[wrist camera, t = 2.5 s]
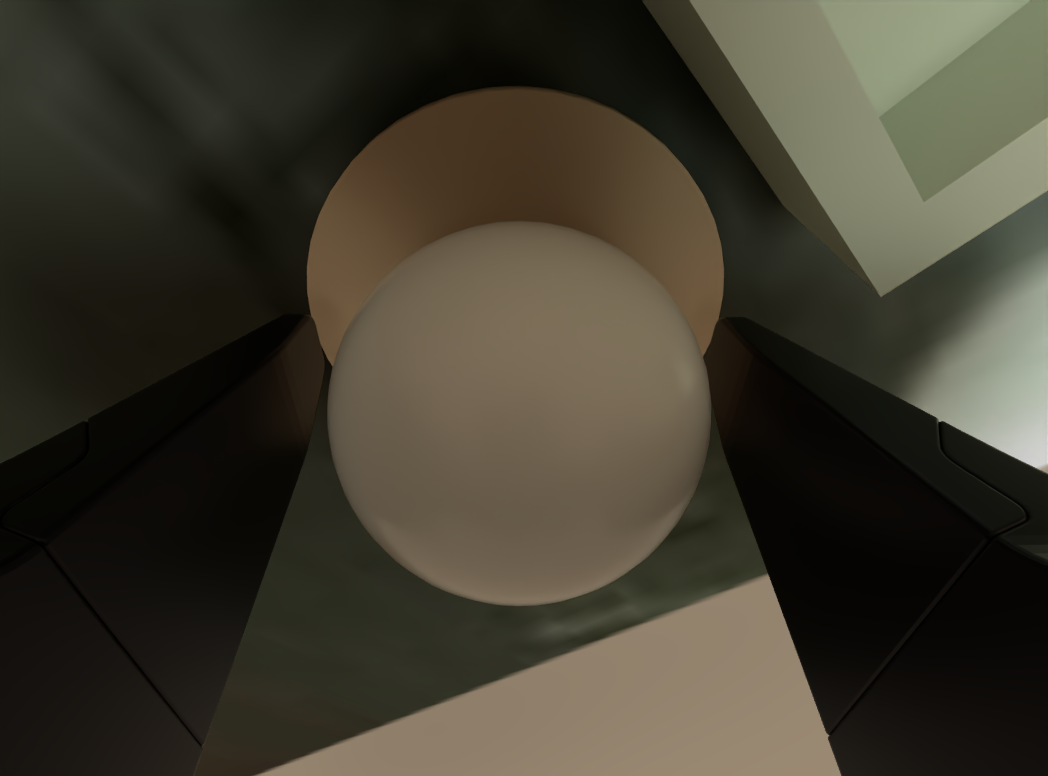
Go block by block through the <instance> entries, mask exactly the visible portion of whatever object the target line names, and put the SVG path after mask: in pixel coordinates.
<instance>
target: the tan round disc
mask: <svg viewBox="0 0 1048 776" xmlns="http://www.w3.org/2000/svg"><path fill="white" fill-rule="evenodd" d="M508 221H531V222H544V223H550V224H555V225H559V226H564V227H569V228H572V229H575V230H578V231H580V232H583V233H586V234H589V235H592V236H595V237H597V238H599V239H601V240H603V241H605V242H607V243H609V244H611V245H613V246H615V247H617V248H619V249H620V250H622V251H623V252H625V253H626V254H627V255H629V256H630V257H632V258H633V259H635V260H636V261H637V262H639V263H640V264H641V265H642V266H643V267H644V268H645V269H646V270H647V271H649V272H650V273H651V274H652V275H653V276H654V277H655V278H656V279H657V280H658V281H659V282H660V283H661V284H662V285H663V286H664V287H665V288H666V290H667V291H668V292H669V294H670V295H671V296H672V297H673V299H674V300H675V301H676V303H677V304H678V306H679V307H680V309H681V310H682V312H683V313H684V315H685V317H686V319H687V321H688V322H689V324H690V326H691V328H692V330H693V332H694V334H695V336H696V339H697V342H698V345H699V348H700V351H701V354H702V357H703V356H704V354H705V352H706V350H707V348H708V346H709V344H710V342H711V339H712V335H713V331H714V327H715V324H716V323H717V321H718V319H719V314H720V309H721V304H722V298H723V286H724V264H723V255H722V246H721V242H720V238H719V235H718V231H717V227H716V223H715V220H714V218H713V215H712V213H711V211H710V209H709V206H708V204H707V202H706V200H705V197H704V195H703V194H702V192H701V191H700V189H699V188H698V186H697V185H696V183H695V181H694V180H693V178H692V177H691V175H690V174H689V172H688V171H687V170H686V168H685V167H684V166H683V165H682V163H681V162H680V161H679V160H678V159H677V158H676V157H675V156H674V155H673V153H672V152H671V151H670V150H669V149H668V148H667V147H666V146H665V145H664V143H663V142H662V141H660V140H659V139H658V138H657V137H655V136H654V135H653V134H652V133H651V132H649V131H648V130H647V129H646V128H644V127H643V126H642V125H641V124H640V123H638V122H636V121H634V120H633V119H631V118H629V117H628V116H626V115H624V114H623V113H621V112H619V111H618V110H616V109H614V108H612V107H610V106H607V105H605V104H602V103H600V102H597V101H595V100H592V99H590V98H588V97H585V96H582V95H578V94H574V93H569V92H565V91H561V90H557V89H553V88H543V87H532V86H521V85H519V86H501V87H486V88H481V89H476V90H471V91H467V92H462V93H457V94H453V95H451V96H448V97H445V98H442V99H440V100H437V101H434V102H431V103H429V104H426V105H424V106H422V107H420V108H418V109H417V110H415V111H413V112H411V113H409V114H407V115H405V116H404V117H402V118H400V119H398V120H397V121H395V122H394V123H393V124H391V125H390V126H389V127H387V128H386V129H385V130H384V131H382V132H381V133H380V134H378V135H377V136H376V137H374V138H373V139H372V140H371V141H370V142H369V143H368V144H367V145H366V146H365V147H364V148H363V150H362V151H361V152H360V153H359V154H358V155H357V156H356V157H355V158H354V159H353V160H352V162H351V163H350V164H349V166H348V167H347V168H346V170H345V171H344V173H343V174H342V176H341V177H340V178H339V180H338V181H337V183H336V184H335V185H334V187H333V188H332V190H331V191H330V193H329V195H328V197H327V199H326V201H325V204H324V206H323V208H322V210H321V212H320V214H319V216H318V219H317V222H316V225H315V229H314V232H313V235H312V238H311V242H310V249H309V256H308V263H307V294H308V300H309V306H310V312H311V317H312V318H313V319H314V321H315V323H316V327H317V331H318V336H319V340H320V344H321V346H322V348H323V350H324V352H325V354H326V356H327V358H328V360H329V362H330V363H331V365H332V366H333V365H334V361H335V358H336V355H337V351H338V349H339V346H340V344H341V341H342V338H343V336H344V333H345V331H346V329H347V328H348V326H349V324H350V322H351V321H352V319H353V317H354V316H355V314H356V312H357V310H358V309H359V307H360V305H361V304H362V302H363V301H364V299H365V298H366V297H367V296H368V294H369V293H370V292H371V291H372V290H373V288H374V287H375V286H376V285H377V284H378V283H379V282H380V281H381V280H382V279H383V278H384V277H385V276H386V275H387V274H388V273H389V272H390V271H391V270H392V269H393V268H395V267H396V266H397V265H398V264H399V263H400V262H401V261H403V260H404V259H405V258H407V257H408V256H410V255H411V254H413V253H414V252H416V251H417V250H419V249H420V248H422V247H424V246H426V245H428V244H430V243H432V242H434V241H436V240H438V239H440V238H443V237H445V236H447V235H449V234H452V233H455V232H458V231H461V230H464V229H467V228H470V227H473V226H479V225H484V224H490V223H495V222H508Z"/></svg>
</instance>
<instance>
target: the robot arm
mask: <svg viewBox="0 0 1048 776" xmlns="http://www.w3.org/2000/svg"><path fill="white" fill-rule="evenodd" d="M705 365H706V368H707V375H708V381H709V388H710V395H711V399H712V404H713V408H714V413H715V417H716V421H717V426H718V430H719V435H720V439H721V443H722V447H723V450H724V453H725V456H726V459H727V462H728V465H729V468H730V470H731V473H732V476H733V479H734V481H735V484H736V487H737V490H738V492H739V495H740V498H741V501H742V503H743V506H744V509H745V512H746V514H747V517H748V520H749V522H750V525H751V528H752V531H753V533H754V536H755V539H756V542H757V544H758V547H759V550H760V553H761V555H762V558H763V561H764V564H765V566H766V569H767V572H768V575H769V577H770V580H771V583H772V585H773V588H774V591H775V593H776V596H777V599H778V602H779V604H780V607H781V610H782V613H783V616H784V618H785V621H786V624H787V627H788V629H789V632H790V635H791V638H792V640H793V643H794V646H795V648H796V651H797V654H798V656H799V659H800V662H801V665H802V667H803V670H804V673H805V676H806V678H807V681H808V684H809V686H810V690H811V692H812V695H813V697H814V701H815V703H816V706H817V709H818V711H819V714H820V717H821V720H822V722H823V725H824V728H825V731H826V733H827V734H828V735H829V737H828V740H829V743H830V746H831V748H832V751H833V754H834V756H835V759H836V762H837V765H838V767H839V770H840V773H841V776H1048V474H1047V473H1045V472H1043V471H1041V470H1039V469H1037V468H1035V467H1033V466H1031V465H1029V464H1026V463H1024V462H1022V461H1020V460H1018V459H1016V458H1014V457H1012V456H1010V455H1008V454H1006V453H1004V452H1002V451H1000V450H998V449H996V448H994V447H992V446H990V445H988V444H986V443H984V442H982V441H980V440H978V439H976V438H974V437H972V436H970V435H968V434H967V433H965V432H963V431H961V430H959V429H957V428H955V427H953V426H951V425H950V424H948V423H946V422H943V421H941V422H938V419H937V418H936V417H934V416H932V415H930V414H928V413H926V412H925V411H923V410H921V409H919V408H917V407H915V406H913V405H911V404H909V403H907V402H906V401H904V400H902V399H900V398H898V397H896V396H894V395H892V394H890V393H888V392H887V391H885V390H883V389H881V388H879V387H877V386H875V385H873V384H871V383H870V382H868V381H866V380H864V379H862V378H860V377H858V376H856V375H854V374H852V373H851V372H849V371H847V370H845V369H843V368H841V367H839V366H837V365H835V364H833V363H832V362H830V361H828V360H826V359H824V358H822V357H820V356H818V355H816V354H814V353H813V352H811V351H809V350H807V349H805V348H803V347H801V346H799V345H797V344H796V343H794V342H792V341H790V340H788V339H786V338H784V337H782V336H780V335H778V334H777V333H775V332H773V331H771V330H769V329H767V328H765V327H763V326H761V325H759V324H758V323H756V322H754V321H752V320H750V319H748V318H746V317H721V318H720V319H719V320H718V321H717V323H716V324H715V327H714V331H713V335H712V339H711V343H710V346H709V350H708V354H707V358H706V364H705ZM323 375H324V357H323V353H322V348H321V344H320V340H319V336H318V331H317V327H316V323H315V321H314V319H313V318H312V317H311V316H310V315H307V314H286V315H282V316H281V317H279V318H277V319H275V320H273V321H271V322H269V323H267V324H265V325H264V326H262V327H260V328H258V329H256V330H254V331H252V332H250V333H249V334H247V335H245V336H243V337H241V338H239V339H237V340H235V341H233V342H232V343H230V344H228V345H226V346H224V347H222V348H220V349H218V350H216V351H215V352H213V353H211V354H209V355H207V356H205V357H203V358H201V359H200V360H198V361H196V362H194V363H192V364H190V365H188V366H186V367H184V368H183V369H181V370H179V371H177V372H175V373H173V374H171V375H169V376H168V377H166V378H164V379H162V380H160V381H158V382H156V383H154V384H152V385H151V386H149V387H147V388H145V389H143V390H141V391H139V392H137V393H135V394H134V395H132V396H130V397H128V398H126V399H124V400H122V401H120V402H119V403H117V404H115V405H113V406H111V407H109V408H107V409H105V410H103V411H102V412H100V413H98V414H96V415H94V416H92V417H90V418H89V419H88V423H87V422H85V421H83V422H80V423H79V424H77V425H75V426H73V427H71V428H69V429H67V430H66V431H64V432H62V433H60V434H58V435H56V436H54V437H52V438H50V439H48V440H46V441H44V442H42V443H40V444H39V445H37V446H35V447H33V448H31V449H29V450H27V451H25V452H23V453H21V454H19V455H17V456H15V457H13V458H11V459H9V460H7V461H5V462H3V463H1V464H0V776H194V774H195V771H196V768H197V765H198V762H199V759H200V757H201V754H202V751H203V748H202V747H201V746H203V745H204V744H205V741H206V738H207V735H208V733H209V730H210V727H211V724H212V721H213V718H214V716H215V713H216V710H217V707H218V704H219V701H220V699H221V696H222V693H223V690H224V687H225V684H226V681H227V679H228V676H229V673H230V670H231V667H232V664H233V662H234V659H235V656H236V653H237V650H238V647H239V644H240V642H241V639H242V636H243V633H244V630H245V627H246V625H247V622H248V619H249V616H250V613H251V610H252V608H253V605H254V602H255V599H256V596H257V593H258V590H259V588H260V585H261V582H262V579H263V576H264V573H265V571H266V568H267V565H268V562H269V559H270V556H271V553H272V551H273V548H274V545H275V542H276V539H277V536H278V534H279V531H280V528H281V525H282V522H283V519H284V517H285V514H286V511H287V508H288V505H289V502H290V499H291V497H292V494H293V491H294V488H295V485H296V482H297V480H298V477H299V474H300V471H301V468H302V465H303V462H304V459H305V456H306V453H307V450H308V446H309V442H310V437H311V433H312V428H313V423H314V418H315V413H316V409H317V404H318V399H319V394H320V390H321V385H322V380H323Z"/></svg>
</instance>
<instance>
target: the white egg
mask: <svg viewBox="0 0 1048 776" xmlns="http://www.w3.org/2000/svg"><path fill="white" fill-rule="evenodd" d="M711 410H712V404H711V396H710V388H709V381H708V375H707V368H706V365H705V363H704V360H703V357H702V354H701V351H700V348H699V345H698V342H697V339H696V336H695V334H694V332H693V330H692V328H691V326H690V324H689V322H688V321H687V319H686V317H685V315H684V313H683V312H682V310H681V309H680V307H679V306H678V304H677V303H676V301H675V300H674V299H673V297H672V296H671V295H670V294H669V292H668V291H667V290H666V288H665V287H664V286H663V285H662V284H661V283H660V282H659V281H658V280H657V279H656V278H655V277H654V276H653V275H652V274H651V273H650V272H649V271H647V270H646V269H645V268H644V267H643V266H642V265H641V264H640V263H639V262H637V261H636V260H635V259H633V258H632V257H630V256H629V255H627V254H626V253H625V252H623V251H622V250H620V249H619V248H617V247H615V246H613V245H611V244H609V243H607V242H605V241H603V240H601V239H599V238H597V237H595V236H592V235H589V234H586V233H583V232H580V231H578V230H575V229H572V228H569V227H564V226H559V225H555V224H550V223H544V222H531V221H508V222H495V223H490V224H484V225H479V226H473V227H470V228H467V229H464V230H461V231H458V232H455V233H452V234H449V235H447V236H445V237H443V238H440V239H438V240H436V241H434V242H432V243H430V244H428V245H426V246H424V247H422V248H420V249H419V250H417V251H416V252H414V253H413V254H411V255H410V256H408V257H407V258H405V259H404V260H403V261H401V262H400V263H399V264H398V265H397V266H396V267H395V268H393V269H392V270H391V271H390V272H389V273H388V274H387V275H386V276H385V277H384V278H383V279H382V280H381V281H380V282H379V283H378V284H377V285H376V286H375V287H374V288H373V290H372V291H371V292H370V293H369V294H368V296H367V297H366V298H365V299H364V301H363V302H362V304H361V305H360V307H359V309H358V310H357V312H356V314H355V316H354V317H353V319H352V321H351V322H350V324H349V326H348V328H347V329H346V331H345V333H344V336H343V338H342V341H341V344H340V346H339V349H338V351H337V355H336V358H335V361H334V365H333V368H332V374H331V379H330V384H329V391H328V407H327V427H328V434H329V441H330V447H331V453H332V459H333V463H334V466H335V469H336V471H337V474H338V477H339V480H340V483H341V485H342V488H343V491H344V494H345V496H346V498H347V499H348V501H349V503H350V505H351V507H352V509H353V510H354V512H355V514H356V515H357V517H358V518H359V520H360V522H361V523H362V525H363V526H364V527H365V529H366V530H367V531H368V533H369V534H370V535H371V537H372V538H373V539H374V540H375V541H376V542H377V543H378V544H379V545H380V546H381V547H382V548H383V549H384V550H385V551H386V552H387V553H388V554H389V555H390V556H391V557H392V558H393V559H394V560H395V561H396V562H398V563H399V564H400V565H402V566H403V567H404V568H406V569H407V570H408V571H410V572H412V573H413V574H415V575H416V576H418V577H419V578H421V579H423V580H424V581H426V582H428V583H429V584H431V585H433V586H435V587H437V588H439V589H442V590H444V591H446V592H449V593H452V594H455V595H457V596H460V597H464V598H468V599H472V600H476V601H480V602H485V603H490V604H497V605H507V606H531V605H542V604H549V603H554V602H560V601H564V600H567V599H571V598H574V597H578V596H581V595H584V594H586V593H589V592H592V591H594V590H597V589H599V588H601V587H603V586H605V585H608V584H610V583H611V582H613V581H615V580H616V579H618V578H620V577H621V576H623V575H624V574H626V573H627V572H628V571H630V570H631V569H633V568H634V567H635V566H637V565H638V564H639V563H641V562H642V561H643V560H645V559H646V558H647V557H648V556H649V555H650V554H651V553H652V552H653V551H654V550H655V549H656V548H657V547H658V546H659V545H660V544H661V543H662V541H663V540H664V539H665V538H666V537H667V536H668V534H669V533H670V532H671V531H672V529H673V528H674V527H675V526H676V524H677V523H678V522H679V520H680V518H681V516H682V515H683V513H684V511H685V510H686V508H687V506H688V504H689V502H690V500H691V499H692V497H693V495H694V493H695V490H696V488H697V485H698V483H699V480H700V478H701V475H702V471H703V468H704V464H705V461H706V457H707V452H708V447H709V442H710V431H711Z"/></svg>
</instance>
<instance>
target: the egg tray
mask: <svg viewBox="0 0 1048 776" xmlns="http://www.w3.org/2000/svg"><path fill="white" fill-rule="evenodd" d="M642 1H643V3H644V4H645V6H646V7H647V9H648V10H649V11H650V13H651V14H652V16H653V17H654V19H655V20H656V22H657V23H658V25H659V26H660V27H661V29H662V30H663V32H664V33H665V35H666V36H667V38H668V39H669V41H670V42H671V43H672V45H673V46H674V48H675V49H676V51H677V52H678V54H679V55H680V56H681V58H682V59H683V61H684V62H685V64H686V65H687V67H688V68H689V70H690V71H691V72H692V74H693V75H694V77H695V78H696V80H697V81H698V83H699V84H700V85H701V87H702V88H703V90H704V91H705V93H706V94H707V96H708V97H709V99H710V100H711V101H712V103H713V104H714V106H715V107H716V109H717V110H718V112H719V113H720V115H721V116H722V117H723V119H724V120H725V122H726V123H727V125H728V126H729V128H730V129H731V130H732V132H733V133H734V135H735V136H736V138H737V139H738V141H739V142H740V144H741V145H742V146H743V148H744V149H745V151H746V152H747V154H748V155H749V157H750V158H751V160H752V161H753V162H754V164H755V165H756V167H757V168H758V170H759V171H760V173H761V174H762V175H763V177H764V178H765V180H766V181H767V183H768V184H769V186H770V187H771V189H772V190H773V191H774V193H775V194H776V196H777V197H778V199H779V200H780V202H781V203H782V204H783V206H784V207H785V208H786V209H787V210H788V211H789V212H790V213H792V214H793V215H794V216H795V217H796V218H797V219H798V220H799V221H800V222H801V223H802V224H803V225H804V226H805V227H807V228H808V229H809V230H810V231H811V232H812V233H813V234H814V235H815V236H816V237H817V238H818V239H819V240H820V241H821V242H823V243H824V244H825V245H826V246H827V247H828V248H829V249H830V250H831V251H832V252H833V253H834V254H835V255H836V256H838V257H839V258H840V259H841V260H842V261H843V262H844V263H845V264H846V265H847V266H848V267H849V268H850V269H851V270H852V271H854V272H855V273H856V274H857V275H858V276H859V277H860V278H861V279H862V280H863V281H864V282H865V283H866V284H867V285H869V286H870V287H871V288H872V289H873V290H874V291H875V292H876V293H877V294H878V295H879V296H880V297H882V296H883V295H885V294H887V293H888V292H890V291H891V290H893V289H894V288H896V287H897V286H899V285H901V284H902V283H904V282H905V281H907V280H908V279H910V278H912V277H913V276H915V275H916V274H918V273H919V272H921V271H923V270H924V269H926V268H927V267H929V266H930V265H932V264H934V263H935V262H937V261H938V260H940V259H941V258H943V257H944V256H946V255H948V254H949V253H951V252H952V251H954V250H955V249H957V248H959V247H960V246H962V245H963V244H965V243H966V242H968V241H970V240H971V239H973V238H974V237H976V236H977V235H979V234H980V233H982V232H984V231H985V230H987V229H988V228H990V227H991V226H993V225H995V224H996V223H998V222H999V221H1001V220H1002V219H1004V218H1006V217H1007V216H1009V215H1010V214H1012V213H1013V212H1015V211H1017V210H1018V209H1020V208H1021V207H1023V206H1024V205H1026V204H1027V203H1029V202H1031V201H1032V200H1034V199H1035V198H1037V197H1038V196H1040V195H1042V194H1043V193H1045V192H1046V191H1048V0H642Z"/></svg>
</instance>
